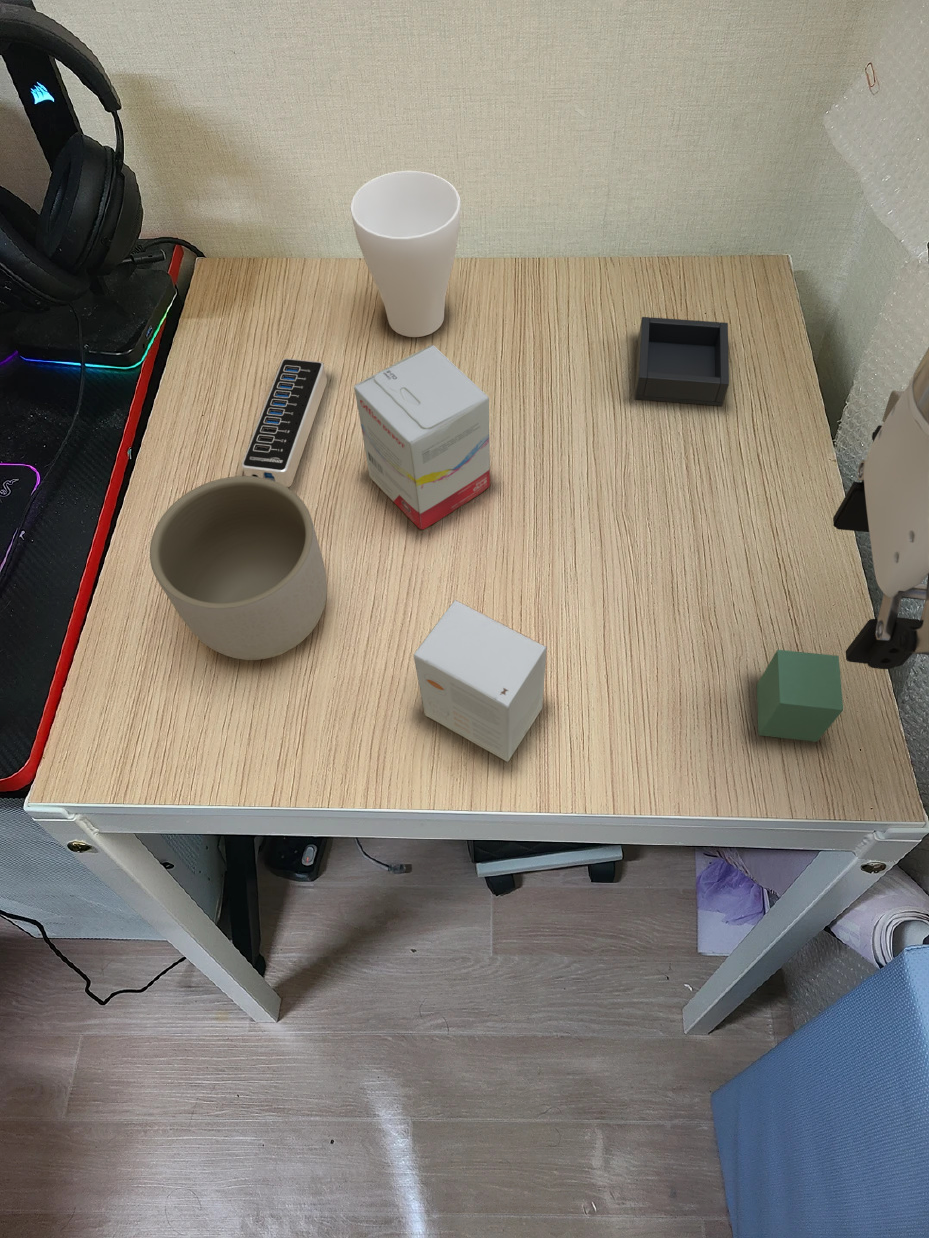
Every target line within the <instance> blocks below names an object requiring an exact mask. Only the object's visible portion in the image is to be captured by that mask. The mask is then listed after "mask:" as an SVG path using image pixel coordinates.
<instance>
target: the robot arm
mask: <svg viewBox="0 0 929 1238" xmlns="http://www.w3.org/2000/svg"><path fill="white" fill-rule="evenodd" d="M882 422H883V424H879V425H877V426H876V428H875V430H874V431H872V435H871V440H872V443H871V445H870V448H869V450H868V452H867V454H866V458H865V460H861V461H860V462H859V464H858V468H857V475H856V477H857V481H853V482H852V484H851V485H850V488H849V489H848V491H847V492H846V494H845V495H844V498H843V500H842V501H841V503H840V504H839V507H838V508H837V510H836V512H835V513H834V515H833V517H832V524H833V525H832V526H833V527H834V528H836V530H839V531H840V530H841V531H851V532H862V533H868V534H869V541H870V548H871V557H872V563H873V570H874V576H875V580H876V583H877V586H878V587H879V589H880V590H881V592H882V593H883V595H882V599H881V604H880V608H879V612H878V616H877V618H871V619H868V620H867V622H866V623H865V624H864V626H863V627H862V628H861V630H860V631H859V632H858V633H857V635H856V636H855V637H854V639H853V640H852V642H850V644H849V645H848V647H847V649H846V650H845V661H847V662H849V663H853V664H855V663H856V664H864V665H867V666H868V667H869V668H871V669H876V670H877V669H878V670H891V669H894V668H897V667H901V666H903V665H904V664H905V663H906V662H907V661H908V660H909V659H910V658H911V657H912V655H913V654H914V655H915V654H916V655H924V656H929V346H928V347H927V350H926V351H925V353H924V354H923V356H922V358H921V360H920V361H919V364H918V365H917V367H916V369H915V371H914V372H913V374H912V376H911V378H910V379H909V382H908V385H907V386H906V388H905V389H904V390H895V389H894V390H892V391H891V392H890V395H889V397H888V401H887V404H886V407H885V411H884V413H883V417H882ZM926 578H927V580H926V583H923V581H924V580H925V579H926ZM903 599H909V600H910V599H911V600H919V601H924V605H923V608H922V613H921V616H920V619H918V618H909V617H899V612H900V608H901V605H902V601H903Z"/></svg>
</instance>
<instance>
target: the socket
mask: <svg viewBox="0 0 929 1238" xmlns="http://www.w3.org/2000/svg"><path fill="white" fill-rule="evenodd" d="M636 350H637V351H636V364H635V365H636V366H635V386H634V400H639V401H640V400H642V401H651V402H653V401H654V402H667V403H680V404H690V405H691V404H692V405H705V406H715V407H716V406H717V407H722V406H723V405H724V402H725V398H726V394H727V392H728V389H729V385H730V366H729V364H730V362H729V361H730V359H729V358H730V357H729V323H728V322H723V321H721V322H720V321H708V320H695V319H694V320H693V319H680V318H679V319H678V318H667V317H649V316H641V321H640V325H639V332H638V336H637V348H636Z"/></svg>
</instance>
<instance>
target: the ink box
mask: <svg viewBox="0 0 929 1238" xmlns="http://www.w3.org/2000/svg"><path fill="white" fill-rule="evenodd" d="M353 388H354V395H355V399H356V404H357V406H356V407H357V412H358V417H359V422H360V427H361V433H362V440H363V445H364V452H365V458H366V464H367V470H368V476H369V478H370V479H371V481H373V482H374V483H375V485H377V487H378V488H379V489H380V490H381V491H382V492H383V493H384V494H385V495H386V496H387V498H389V499H390V500H391V501H392V503H394V504H395V505H396V506H397V507H398V509H399V510H401V511H402V512H403V513H404V514H405V516H406V517H407V518H408V519H409V520H410V521H411V522H412V523H413V524H414V525H415V526H416V527H417V528H418V529H419V530H423V531H424V530H425V529H427V528H428V527H430V526H432V525H434V524H436V523H438V522H439V521H440V520H442V519H443V518H445V517H447V516H448V515H450V514H451V513H453V512H454V511H456V510H457V509H460V507H463V506H464V505H465V504H467V503H468V502H470V501H471V500H473V499H475V498H476V497H478V496H479V495H481V494H482V493H483V492H484V491H486V490H487V489H489V488H490V487H491V470H490V469H491V466H490V465H491V458H490V455H491V453H490V451H491V450H490V397H489V396H488V395H487V394H486V393H485V392H484V390H482V389H481V388H480V387H479V386H478V385H477V384H475V382H473V380H471V379H470V378H469V377H468V376H467V375H466V374H465V373H464V372H463V371H462V370H461V369H460V368H459V367H457V366H456V365H455V364H454V363H453V362H452V360H450V359H449V358H448V357H447V356H445V354H443V353H442V351H440V350H439V348H437V347H436V346H435V345H434V344H431V345H429V346H427V347H424V348H422V349H420V350H418V351H416V352H414V353H412V354H410V355H408V356H406V357H404V358H402V359H400V360H399V361H398V362H394V363H393V364H391V365H390V366H388V367H386V368H384V369H382V370H380V371H378V372H377V373H375V374H372V375H370V376H369V377H367V378H365V379H363V380H362V381H360V382H358V383H356V384H354V386H353Z"/></svg>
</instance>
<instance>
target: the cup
mask: <svg viewBox="0 0 929 1238" xmlns="http://www.w3.org/2000/svg"><path fill="white" fill-rule="evenodd" d="M461 207H462V200H461V197H460V194H459V191H458V190H457V189H456V188H455V186H454V185H453V184H452V183H451V182H449V181H448V180H446V179H445V178H443V177H441V176H439V175H437V174H434V173H431V172H426V171H420V170H399V171H393V172H388V173H385V174H381V175H378V176H376V177H374V178H372V179H370V180H368V181H366V182H365V183H364V184H363V185H362V186H361V187H359V188H358V189H357V190H356V191H355V194H354V195H353V196H352V198H351V201H350V206H349V210H350V211H349V212H350V215H351V219H352V224H353V228H354V232H355V236H356V240H357V243H358V246H359V249H360V251H361V254H362V256H363V259H364V261H365V262H364V263H365V264H366V266H367V269H368V271H369V273H370V275H371V277H372V279H373V282H374V283H375V285H376V288H377V290H378V293H379V295H380V298H381V300H382V303H383V306H384V309H385V313H386V317H387V320H388V321H387V322H388V325H389V327H390V328H391V330H393V331H394V332H395V333H397V334H399V335H401V336H403V337H407V338H419V337H420V338H421V337H425V336H428V335H431V334H433V333H434V332H436V331H438V329H440V328H441V326H442V325H443V322H444V320H445V306H446V296H447V290H448V287H449V286H448V285H449V281H450V276H451V273H452V269H453V266H454V263H455V257H456V252H457V246H458V245H457V244H458V241H459V233H460V226H461V209H462V208H461Z"/></svg>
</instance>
